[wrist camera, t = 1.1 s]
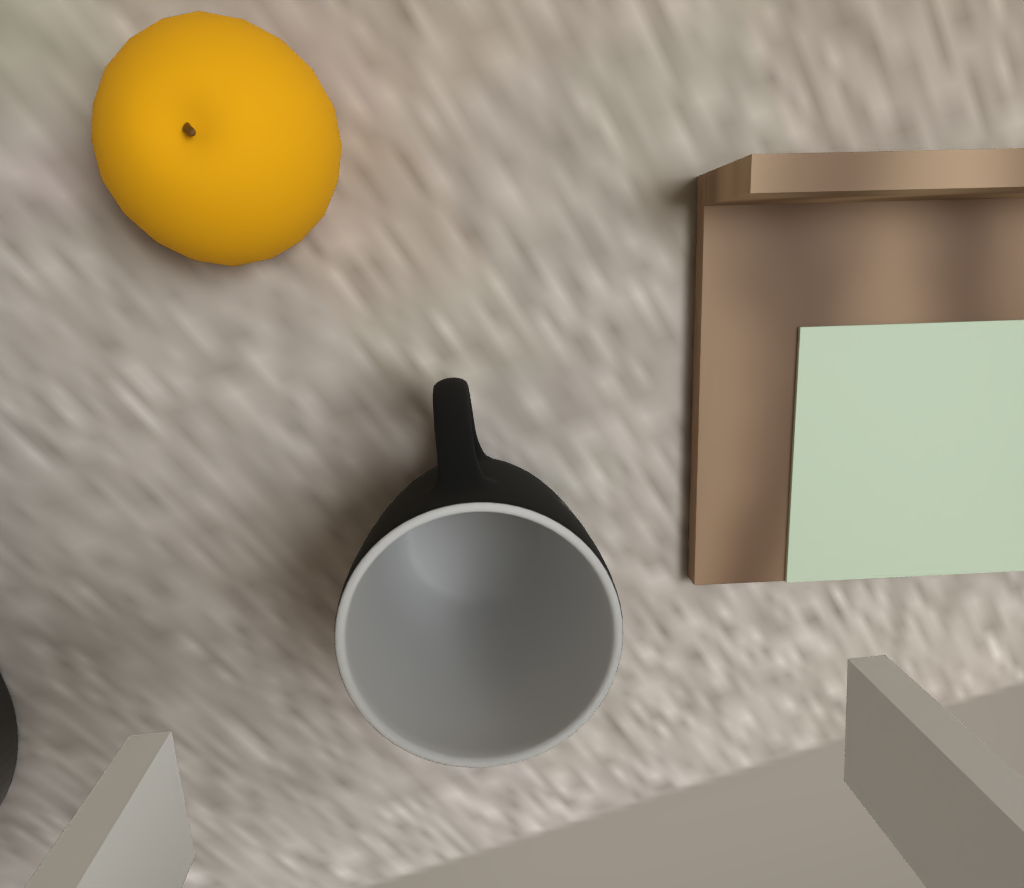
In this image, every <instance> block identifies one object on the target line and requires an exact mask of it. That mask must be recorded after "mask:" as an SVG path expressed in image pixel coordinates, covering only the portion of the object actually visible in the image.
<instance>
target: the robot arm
mask: <svg viewBox="0 0 1024 888" xmlns="http://www.w3.org/2000/svg"><path fill="white" fill-rule="evenodd" d="M17 751H18V734H17V724H16V717H15V713H14V709H13V705H12V701H11V698H10V695H9V693H8V690H7V688H6V685H5V683H4V681H3V679H2V677H1V675H0V805H1V803H2V801H3V799H4V797H5V796H6V794H7V791H8V789H9V786H10V784H11V781H12V778H13V774H14V770H15V766H16V760H17ZM844 767H845V768H844V781H845V782H846V783H847V785H848V786H849V788H850V789H851V790H852V791H853V793H854V794H855V795H856V797H857V798H858V799H859V800H860V802H861V803H862V804H863V806H864V807H865V808H866V810H867V811H868V812H869V814H870V815H871V816H872V817H873V819H874V820H875V821H876V823H877V824H878V825H879V827H880V828H881V829H882V830H883V832H884V833H885V834H886V836H887V837H888V838H889V840H890V841H891V842H892V843H893V845H894V846H895V847H896V849H897V850H898V851H899V853H900V854H901V855H902V856H903V858H904V859H905V860H906V862H907V863H908V864H909V866H910V867H911V868H912V869H913V871H914V872H915V873H916V875H917V876H918V877H919V879H920V880H921V881H922V882H923V884H924V885H925V886H926V887H927V888H1024V778H1023V777H1022V776H1021V775H1020V774H1019V773H1017V772H1016V771H1015V770H1014V769H1013V768H1012V767H1011V766H1009V765H1008V764H1007V763H1006V762H1005V761H1004V760H1003V759H1002V758H1000V757H999V756H998V755H997V754H996V753H995V752H994V751H993V750H991V749H990V748H989V747H988V746H987V745H986V744H984V742H982V741H981V740H980V739H979V738H978V737H977V736H976V735H975V734H973V733H972V732H971V731H970V730H969V729H968V728H966V726H964V725H963V724H962V723H961V722H960V721H959V720H958V719H957V718H955V717H954V716H953V715H952V714H951V713H950V712H949V711H948V710H946V709H945V708H944V707H943V706H942V705H941V704H940V703H939V702H937V701H936V700H935V699H934V698H933V697H932V696H931V695H930V694H928V693H927V692H926V691H925V690H924V689H923V688H922V687H921V686H919V685H918V684H917V683H916V682H915V681H914V680H913V679H912V678H910V677H909V676H908V675H907V674H906V673H905V672H904V671H903V670H901V669H900V668H899V667H898V666H897V665H896V664H895V663H894V662H892V661H891V660H890V659H889V658H888V657H887V656H886V655H881V656H871V657H862V658H853V659H848V670H847V702H846V734H845V766H844ZM194 858H195V851H194V846H193V841H192V836H191V831H190V825H189V820H188V815H187V810H186V805H185V800H184V794H183V789H182V784H181V779H180V774H179V768H178V763H177V758H176V753H175V748H174V743H173V737H172V732H171V731H166V732H156V733H147V734H137V735H129V737H128V738H127V740H126V741H125V743H124V744H123V746H122V747H121V748H120V750H119V751H118V753H117V754H116V756H115V757H114V759H113V760H112V761H111V763H110V764H109V766H108V767H107V769H106V770H105V772H104V773H103V775H102V776H101V777H100V779H99V780H98V782H97V783H96V785H95V786H94V788H93V789H92V791H91V792H90V793H89V795H88V796H87V798H86V799H85V801H84V802H83V804H82V805H81V806H80V808H79V809H78V811H77V812H76V814H75V815H74V817H73V818H72V820H71V821H70V822H69V824H68V825H67V827H66V828H65V830H64V831H63V833H62V834H61V835H60V837H59V838H58V840H57V841H56V843H55V844H54V846H53V847H52V849H51V850H50V851H49V853H48V854H47V856H46V857H45V859H44V860H43V862H42V863H41V865H40V866H39V867H38V869H37V870H36V872H35V873H34V875H33V876H32V878H31V879H30V880H29V882H28V883H27V885H26V886H25V888H181V887H182V885H183V883H184V881H185V878H186V876H187V874H188V871H189V869H190V867H191V864H192V862H193V860H194Z"/></svg>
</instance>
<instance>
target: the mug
mask: <svg viewBox="0 0 1024 888" xmlns="http://www.w3.org/2000/svg"><path fill="white" fill-rule="evenodd" d="M433 415H434V427H435V437H436V447H437V459H438V466H436V467H435V468H433V469H431V470H429V471H428V472H426V473H425V474H423V475H422V476H420V477H419V478H417V479H416V480H415V481H414V482H412V483H411V484H410V485H409V486H408V487H407V488H406V489H404V490H403V491H402V492H401V493H400V494H399V495H398V496H397V497H396V498H395V500H394V501H393V502H392V503H391V504H390V506H389V507H388V508H387V509H386V510H385V512H384V513H383V514H382V516H381V517H380V519H379V520H378V522H377V523H376V525H375V526H374V527H373V529H372V530H371V532H370V533H369V535H368V537H367V538H366V540H365V542H364V544H363V546H362V547H361V549H360V551H359V553H358V555H357V557H356V559H355V561H354V563H353V565H352V567H351V569H350V572H349V574H348V576H347V579H346V581H345V584H344V587H343V590H342V593H341V597H340V600H339V603H338V608H337V613H336V619H335V652H336V659H337V664H338V668H339V672H340V675H341V678H342V680H343V683H344V686H345V688H346V690H347V692H348V694H349V696H350V698H351V699H352V701H353V703H354V704H355V706H356V707H357V709H358V710H359V711H360V713H361V714H362V715H363V717H364V718H365V719H366V720H367V721H368V722H369V723H370V724H371V725H372V726H373V727H374V728H375V729H376V730H377V731H378V732H379V733H380V734H381V735H383V736H384V737H385V738H387V739H388V740H389V741H391V742H392V743H394V744H395V745H397V746H398V747H400V748H402V749H404V750H405V751H407V752H410V753H412V754H414V755H416V756H418V757H421V758H424V759H427V760H429V761H433V762H437V763H440V764H444V765H450V766H457V767H469V768H485V767H495V766H502V765H507V764H512V763H516V762H519V761H523V760H526V759H529V758H531V757H534V756H537V755H539V754H541V753H543V752H545V751H547V750H549V749H551V748H553V747H555V746H556V745H558V744H560V743H561V742H563V741H564V740H565V739H567V738H568V737H569V736H571V735H572V734H573V733H574V732H576V731H577V730H578V729H579V728H580V727H581V726H582V725H583V724H584V723H585V722H586V721H587V720H588V719H589V718H590V717H591V716H592V715H593V713H594V712H595V711H596V709H597V708H598V707H599V706H600V704H601V702H602V701H603V699H604V698H605V696H606V694H607V692H608V690H609V689H610V687H611V685H612V682H613V680H614V677H615V675H616V672H617V669H618V665H619V661H620V657H621V651H622V643H623V621H622V612H621V606H620V602H619V598H618V594H617V591H616V588H615V585H614V582H613V580H612V577H611V575H610V572H609V570H608V568H607V566H606V564H605V562H604V560H603V558H602V556H601V554H600V552H599V551H598V549H597V547H596V546H595V544H594V542H593V541H592V539H591V538H590V536H589V535H588V533H587V532H586V530H585V528H584V527H583V526H582V524H581V523H580V521H579V520H578V519H577V518H576V516H575V515H574V514H573V513H572V511H571V510H570V509H569V508H568V506H567V505H566V504H565V503H564V502H563V501H562V500H561V499H560V498H559V497H558V496H557V495H556V494H555V493H554V492H553V491H552V490H551V489H550V488H549V487H548V486H547V485H545V484H544V483H543V482H542V481H541V480H539V479H538V478H536V477H535V476H533V475H532V474H530V473H529V472H527V471H525V470H523V469H521V468H519V467H517V466H515V465H512V464H510V463H507V462H504V461H500V460H496V459H492V458H490V457H488V456H486V455H485V454H484V452H483V450H482V448H481V446H480V444H479V442H478V438H477V435H476V430H475V425H474V418H473V412H472V405H471V399H470V393H469V388H468V384H467V382H466V381H465V380H463V379H460V378H447V379H443V380H441V381H439V382H437V383H436V385H435V386H434V389H433Z"/></svg>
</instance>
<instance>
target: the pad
mask: <svg viewBox="0 0 1024 888" xmlns="http://www.w3.org/2000/svg"><path fill="white" fill-rule="evenodd" d="M1010 571H1024V320H994V321H964V322H933V323H903V324H872V325H842V326H812V327H798V344H797V363H796V381H795V400H794V418H793V437H792V455H791V474H790V492H789V511H788V529H787V548H786V567H785V581H786V582H807V581H827V580H847V579H867V578H888V577H908V576H928V575H949V574H969V573H989V572H1010Z"/></svg>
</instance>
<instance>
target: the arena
mask: <svg viewBox="0 0 1024 888" xmlns="http://www.w3.org/2000/svg"><path fill="white" fill-rule="evenodd" d="M994 320H1024V148H1017V149H971V150H925V151H879V152H833V153H787V154H751V155H749V156H746V157H744V158H742V159H739V160H737V161H734V162H732V163H729V164H727V165H725V166H722V167H720V168H717V169H715V170H712V171H710V172H708V173H705V174H703V175H700V176H698V186H697V227H696V269H695V310H694V351H693V393H692V434H691V475H690V517H689V558H688V577H689V578H690V580H691V581H692V582H693V584H694V585H707V584H727V583H748V582H768V581H785V567H786V548H787V529H788V511H789V492H790V474H791V455H792V437H793V418H794V400H795V381H796V363H797V344H798V327H812V326H842V325H872V324H903V323H933V322H964V321H994Z"/></svg>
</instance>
